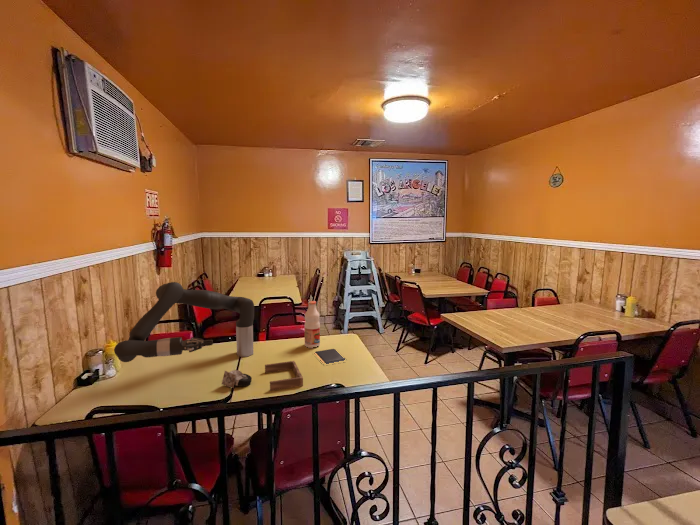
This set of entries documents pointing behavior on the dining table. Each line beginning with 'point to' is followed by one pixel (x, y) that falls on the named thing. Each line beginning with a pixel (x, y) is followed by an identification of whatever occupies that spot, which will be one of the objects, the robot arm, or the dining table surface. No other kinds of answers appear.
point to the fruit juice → (312, 326)
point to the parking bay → (285, 382)
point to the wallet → (329, 356)
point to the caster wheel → (236, 379)
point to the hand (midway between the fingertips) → (212, 342)
